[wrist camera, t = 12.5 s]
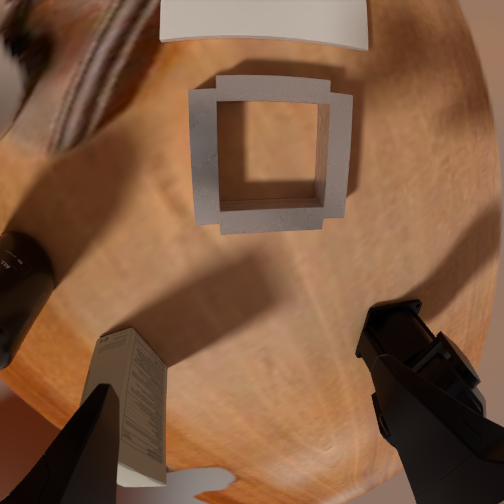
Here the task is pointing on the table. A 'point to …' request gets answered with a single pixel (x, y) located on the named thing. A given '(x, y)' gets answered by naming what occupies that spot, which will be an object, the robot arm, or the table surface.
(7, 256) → the supplement bottle
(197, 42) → the table surface
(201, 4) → the pad
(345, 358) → the table surface
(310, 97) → the steel collar
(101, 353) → the skincare box
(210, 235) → the table surface
